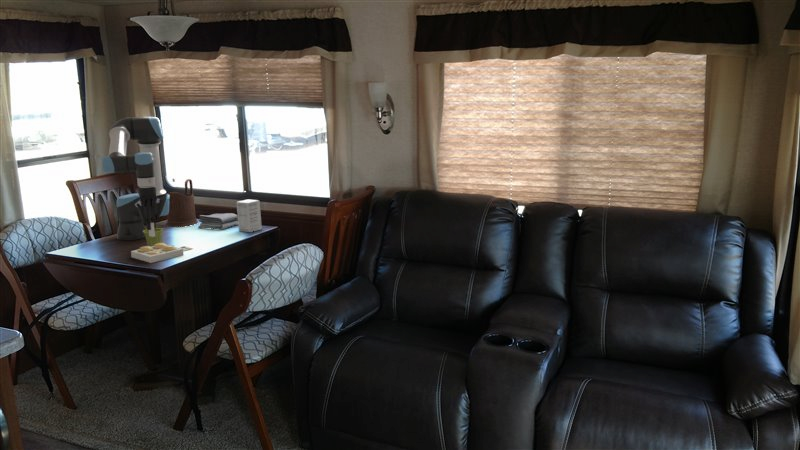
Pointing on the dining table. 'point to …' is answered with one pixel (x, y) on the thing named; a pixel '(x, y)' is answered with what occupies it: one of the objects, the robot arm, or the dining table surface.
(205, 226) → the towel
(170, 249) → the button
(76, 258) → the dining table surface
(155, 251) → the button
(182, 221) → the brown basket
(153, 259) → the white square food tray
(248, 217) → the supplement box
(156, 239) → the plant pot
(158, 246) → the button
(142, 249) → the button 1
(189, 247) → the card
